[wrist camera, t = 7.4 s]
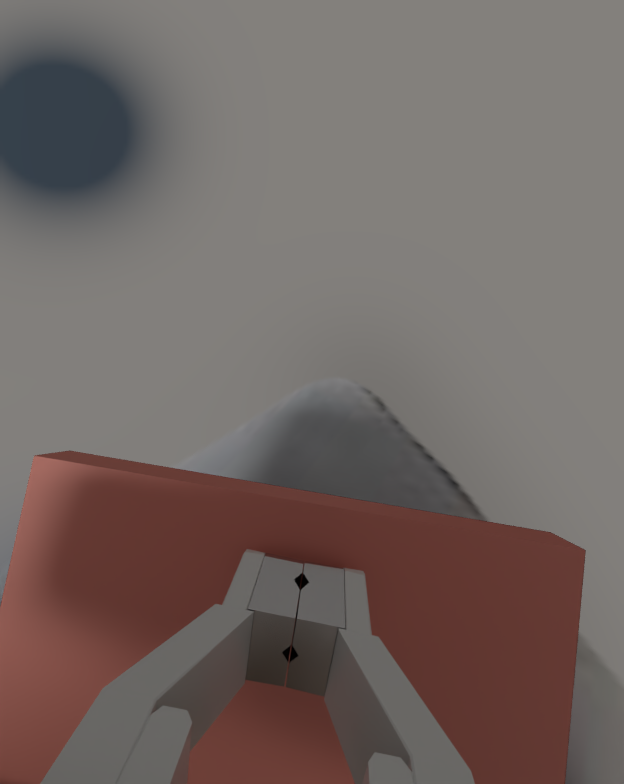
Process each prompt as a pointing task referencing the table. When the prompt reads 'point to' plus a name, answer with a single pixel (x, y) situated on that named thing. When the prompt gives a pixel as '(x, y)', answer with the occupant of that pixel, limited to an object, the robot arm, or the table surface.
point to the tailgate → (308, 543)
